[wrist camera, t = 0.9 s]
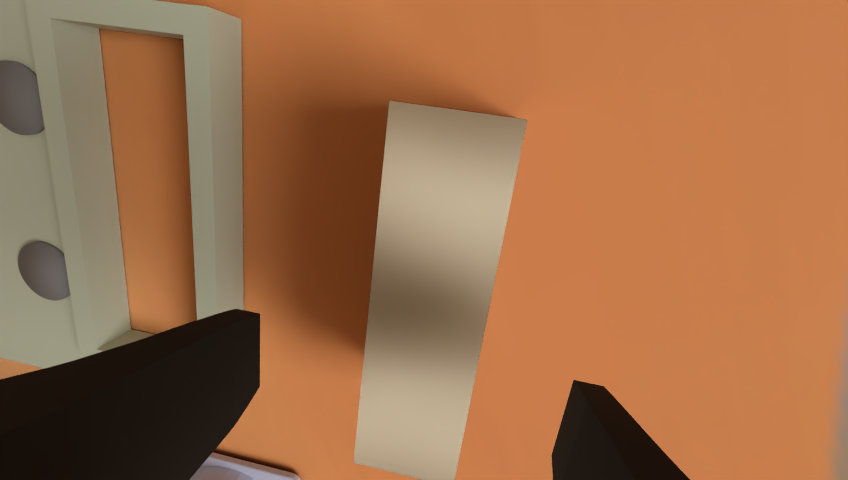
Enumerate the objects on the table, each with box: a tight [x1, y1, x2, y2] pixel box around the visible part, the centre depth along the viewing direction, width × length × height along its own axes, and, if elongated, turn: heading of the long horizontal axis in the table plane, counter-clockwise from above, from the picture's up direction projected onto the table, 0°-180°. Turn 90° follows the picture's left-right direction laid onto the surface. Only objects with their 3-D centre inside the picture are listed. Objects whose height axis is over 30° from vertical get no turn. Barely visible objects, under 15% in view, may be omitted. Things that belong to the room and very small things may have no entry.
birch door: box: [354, 101, 527, 480], centre depth 15 cm, size 12×4×6 cm, turn 173°
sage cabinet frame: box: [0, 0, 244, 369], centre depth 19 cm, size 20×14×2 cm
